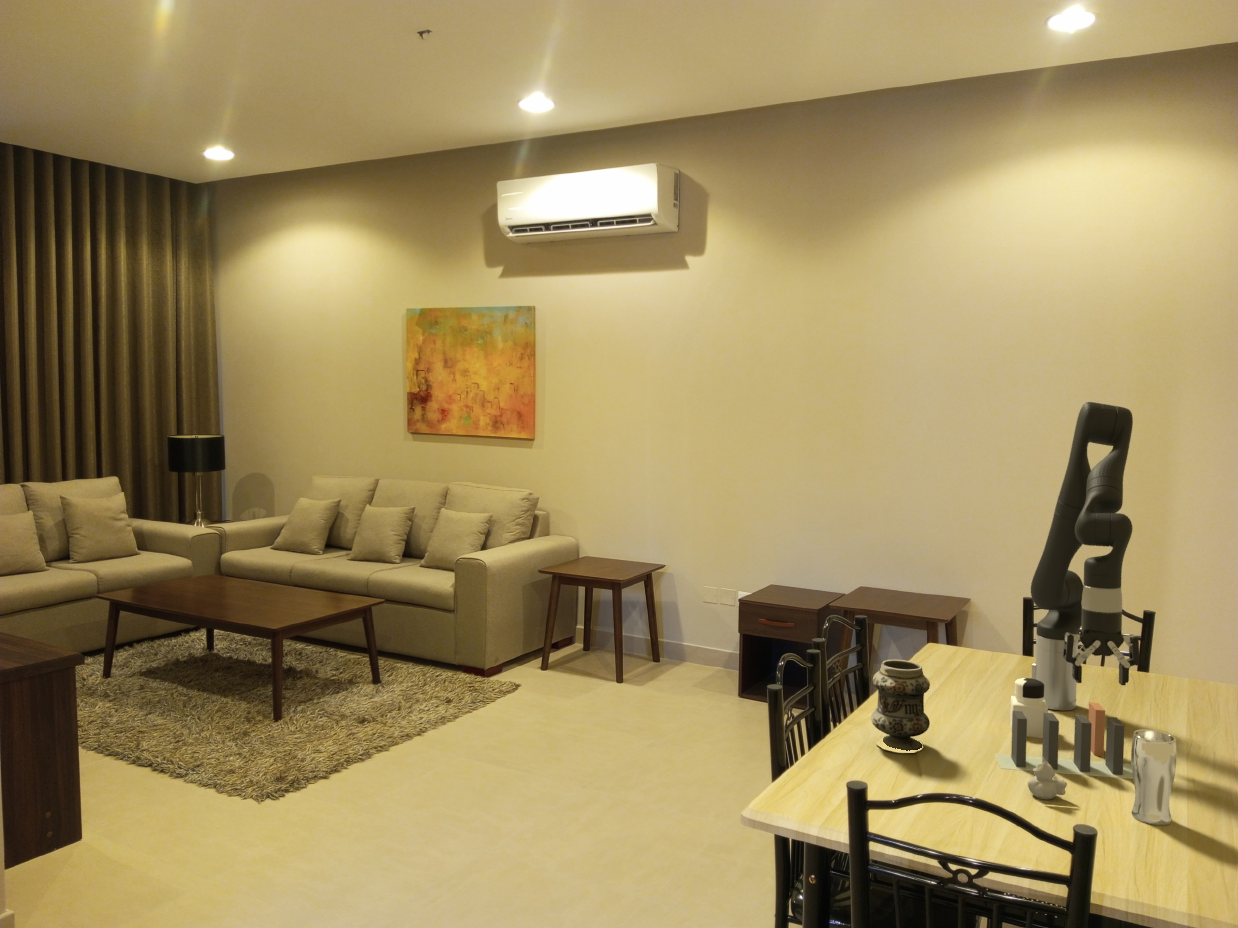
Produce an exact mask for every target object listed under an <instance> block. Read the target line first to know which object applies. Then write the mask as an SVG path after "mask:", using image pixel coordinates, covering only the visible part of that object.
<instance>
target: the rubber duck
mask: <svg viewBox="0 0 1238 928" xmlns="http://www.w3.org/2000/svg"><path fill="white" fill-rule="evenodd" d="M1041 757H1042V761H1041V762H1039V763H1038V765H1037V767H1036V768H1034V769H1033V771H1032V772H1033V773H1034V776H1033V777H1032V778H1030V779H1029V780H1028V782H1027V788H1028V790H1029V792H1030V793H1031V794H1032V795H1033V796H1034V797H1036V798H1038V799H1040V800H1047V801H1048V800H1051V799H1053V798H1055V797H1056V796H1057V795H1058V796H1064V795H1065V794H1066V788H1067V786H1068V784H1067V781H1065V780H1062V779H1054V778H1055V775H1056V773H1054V770H1053V768H1052V767H1051V765H1050V764H1049V763H1048V762H1047V761H1046V760H1045V759H1044V757H1043V756H1042V755H1041Z"/></svg>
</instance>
